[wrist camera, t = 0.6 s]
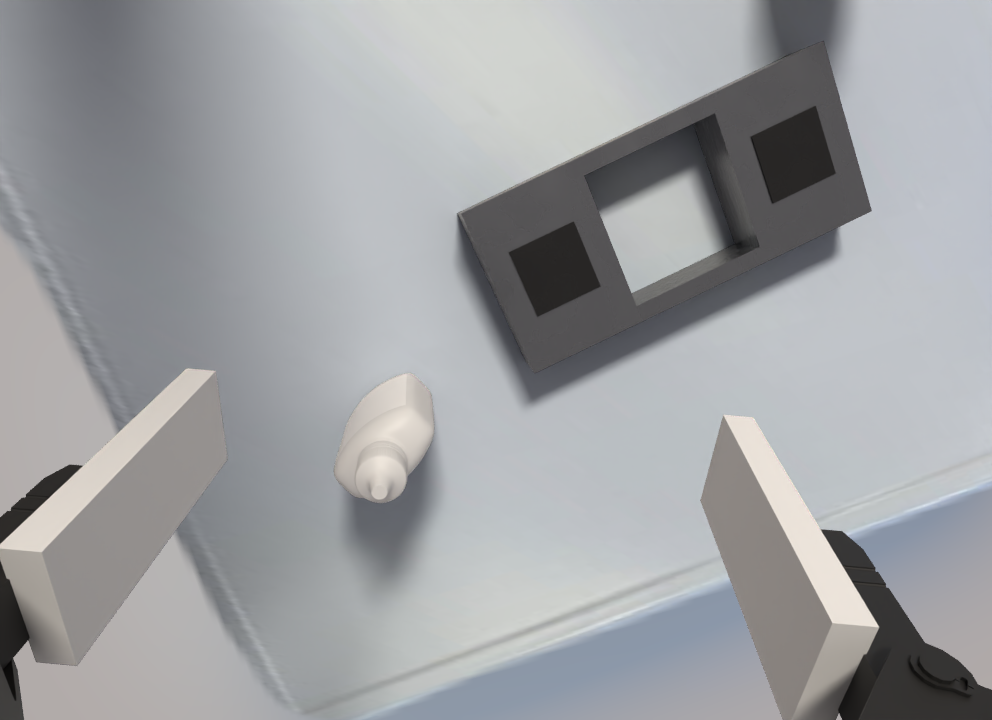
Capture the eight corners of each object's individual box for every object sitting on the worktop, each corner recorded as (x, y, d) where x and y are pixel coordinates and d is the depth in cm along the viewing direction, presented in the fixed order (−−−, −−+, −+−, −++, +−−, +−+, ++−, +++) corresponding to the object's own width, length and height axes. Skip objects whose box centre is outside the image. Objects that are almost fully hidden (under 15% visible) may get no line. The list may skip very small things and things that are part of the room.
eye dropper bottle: (335, 387, 39) (302, 462, 28) (425, 366, 40) (430, 432, 28) (353, 452, 40) (329, 551, 29) (440, 432, 41) (452, 521, 29)
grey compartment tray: (457, 213, 38) (461, 213, 35) (792, 53, 38) (824, 40, 35) (525, 361, 40) (535, 373, 37) (839, 210, 41) (872, 211, 38)
